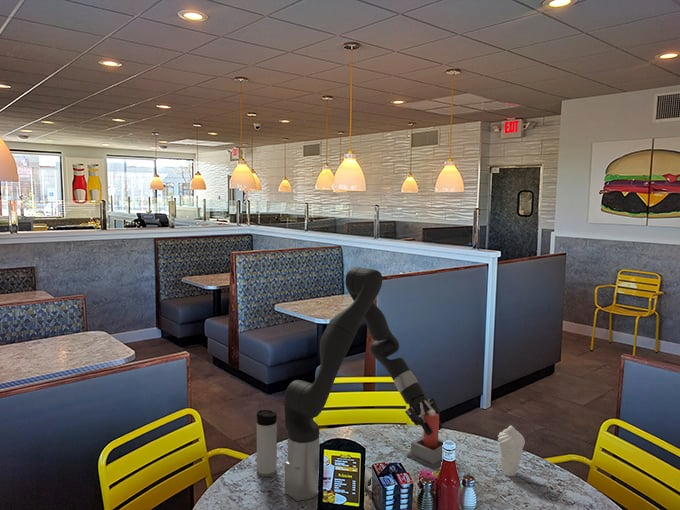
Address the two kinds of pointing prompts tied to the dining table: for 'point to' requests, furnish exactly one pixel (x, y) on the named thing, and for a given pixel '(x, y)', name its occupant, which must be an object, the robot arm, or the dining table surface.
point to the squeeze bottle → (433, 422)
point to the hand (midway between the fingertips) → (435, 431)
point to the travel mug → (266, 443)
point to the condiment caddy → (426, 453)
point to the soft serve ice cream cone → (510, 450)
